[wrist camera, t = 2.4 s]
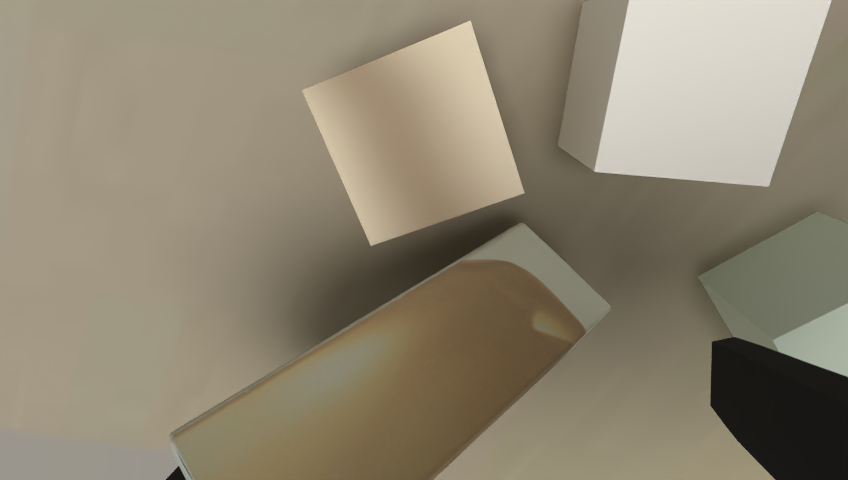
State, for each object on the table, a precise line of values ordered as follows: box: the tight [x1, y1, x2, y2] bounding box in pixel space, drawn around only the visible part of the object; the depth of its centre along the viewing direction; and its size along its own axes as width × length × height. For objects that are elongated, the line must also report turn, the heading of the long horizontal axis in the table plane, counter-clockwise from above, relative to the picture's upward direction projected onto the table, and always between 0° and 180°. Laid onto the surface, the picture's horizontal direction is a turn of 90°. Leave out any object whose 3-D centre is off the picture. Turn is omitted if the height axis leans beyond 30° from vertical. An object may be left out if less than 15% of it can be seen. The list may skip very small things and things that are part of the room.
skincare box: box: [169, 223, 611, 480], centre depth 15 cm, size 6×4×12 cm
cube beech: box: [302, 21, 524, 246], centre depth 16 cm, size 5×5×5 cm
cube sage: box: [698, 211, 848, 377], centre depth 18 cm, size 5×5×5 cm
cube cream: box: [558, 0, 832, 187], centre depth 15 cm, size 5×5×5 cm
